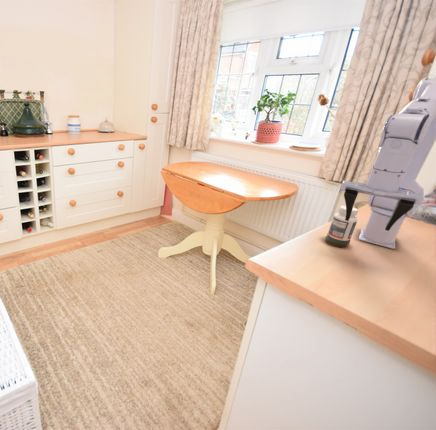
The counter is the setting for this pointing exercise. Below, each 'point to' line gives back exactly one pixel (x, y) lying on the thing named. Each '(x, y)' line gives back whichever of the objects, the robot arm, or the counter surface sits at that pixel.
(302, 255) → the counter surface
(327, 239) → the coaster stack
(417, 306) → the counter surface
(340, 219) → the pill bottle
